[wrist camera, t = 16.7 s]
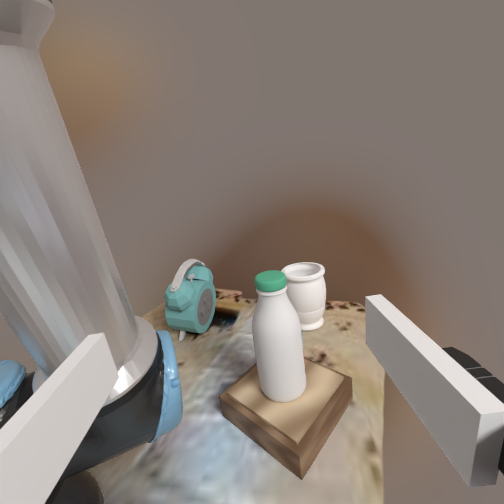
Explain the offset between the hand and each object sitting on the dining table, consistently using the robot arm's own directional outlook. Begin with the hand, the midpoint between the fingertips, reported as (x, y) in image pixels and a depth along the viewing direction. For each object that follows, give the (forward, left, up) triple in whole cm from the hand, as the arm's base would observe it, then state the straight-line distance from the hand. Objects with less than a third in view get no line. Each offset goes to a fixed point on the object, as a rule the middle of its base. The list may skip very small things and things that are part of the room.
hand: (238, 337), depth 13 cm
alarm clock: (-50, +26, -32) cm, 65 cm away
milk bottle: (-15, +19, -27) cm, 37 cm away
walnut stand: (-15, +20, -32) cm, 40 cm away
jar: (-26, +44, -32) cm, 60 cm away
